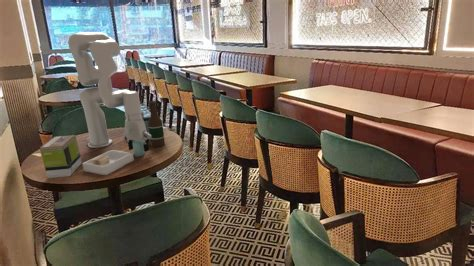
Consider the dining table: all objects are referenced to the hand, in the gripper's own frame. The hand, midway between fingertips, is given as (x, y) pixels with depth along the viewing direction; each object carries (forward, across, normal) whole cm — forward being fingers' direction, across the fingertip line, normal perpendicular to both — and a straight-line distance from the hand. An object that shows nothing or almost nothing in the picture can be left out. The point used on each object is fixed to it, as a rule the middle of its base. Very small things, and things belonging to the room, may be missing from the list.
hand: (139, 150), depth 165 cm
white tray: (+2, -4, -16) cm, 17 cm away
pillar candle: (+2, -25, +28) cm, 38 cm away
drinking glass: (+2, -11, +22) cm, 25 cm away
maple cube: (+2, -4, -20) cm, 21 cm away
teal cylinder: (+3, 0, 0) cm, 3 cm away
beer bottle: (+3, 0, +15) cm, 15 cm away
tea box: (+3, -20, -27) cm, 34 cm away
